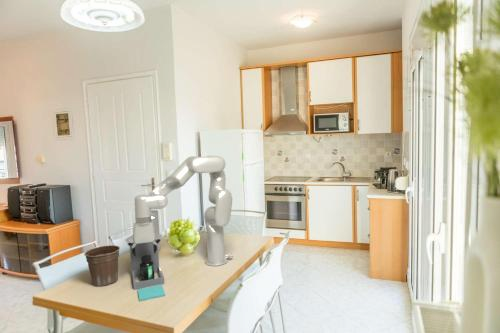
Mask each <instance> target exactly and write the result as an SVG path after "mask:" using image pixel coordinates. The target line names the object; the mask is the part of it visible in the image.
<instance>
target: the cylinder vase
mask: <svg viewBox="0 0 500 333" xmlns="http://www.w3.org/2000/svg"><path fill="white" fill-rule="evenodd" d="M151 216H152V217H154V219H153V220H152V221H153V225H154V232H155V233H157V234H160V224H159V223H160V221H159V220H160V219H159V210H158V209H151ZM158 238H159V237H157V236H155V239H158ZM160 250H161V241H160V242H159V243H158V252H159V251H160Z"/></svg>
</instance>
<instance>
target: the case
mask: <svg viewBox="0 0 500 333" xmlns="http://www.w3.org/2000/svg"><path fill="white" fill-rule="evenodd" d="M156 240H157V239H155V241H156ZM131 243H132V244H133V242H131ZM153 244H154V243H153V242H149V243H141V244H136V246H135V255H136V256H134V254H132V247H130V246H129V254H130V266H131V278H132V284H133V290H138V289H143V288H148V287H153V286H158V285H164V284H165V277H164V274H163V272H162V269H161V266H160V258H159V251H158V244H157V251H156V253H154V247H153ZM144 255H151V258H152V261H153V262H154V274H156V273H158V276H159V277H157V278H155V279H151V280H145V281H141V280H140V281H136V277H137V276H138V277H140V263H141V262H142V261H141V257H142V256H144Z"/></svg>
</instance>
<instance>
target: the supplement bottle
mask: <svg viewBox="0 0 500 333" xmlns="http://www.w3.org/2000/svg"><path fill="white" fill-rule="evenodd" d="M141 261H142V262H141V263H140V275H139V277H140V281H145V280H151V279H156V278H155V276H156V275H155V274H156V273H154V262H153V261H152V258H151V255H144V256H142V257H141Z"/></svg>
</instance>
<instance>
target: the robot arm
mask: <svg viewBox="0 0 500 333" xmlns="http://www.w3.org/2000/svg"><path fill="white" fill-rule="evenodd" d="M225 168H226V161H225V159H224V158H223V157H222V156H219V155H207V156H195V155H194V156H188V157H187V158H186V159H185V160H184V161H183V162H181V164H180V165H179V166H178V167H176V169H175V170H174V171H173V172H172V173H171V174H170V175H169V176H167V177H166V178H165V179H164V180H162V181H160V183H158V184H157V185H156V186H155V187H154V188H152V190H151V192H149V194H138V195H135V197H134V216H135V220H134V221H135V222H134V223H133V227H132V235H130V236H128V237H127V238H126V239H125V242H126V244H127V245H128V246H129V248H130V247H132V254H134V256H136V255H135V246H136V244H141V243H149V242H153V243H154V244H153V247H154V253H156V251H157V244H158V243H159V242H160V243H161V240H162V238H163V235H162V234H160V233H159V234H157V233H155V232H154V225H153V221H152V220H153V219H154V217H152V216H151V210H161V209H164V208H166V206H167V205H168V198H167V196H168V195H169V194H170V193H171V192H173V191H174V190H177V189H179V188H181V187H183V186H185V185H186V184H187V182H188V181H189V180H190V179H191V178H192V177H193V176H194V175H195V174H208V175H209V177H210V178H209V179H210V180H209V182H210V183H209V190H208V201H209V202H210V203H211V204H213V205H215V206H212V205H211V206H209V207H207V208H206V210H205V211H204V214H203V218H204V224H205V231H206V250H207V258H206V259H205V261H204V264H206V265H207V266H209V267H210V266H211V267H218V266H223V265H225V264H227V263H228V258H233V257H234V254H233V253H229V252H228V253H226V252H225V240H224V239H225V238H224V236H225V235H224V233H225V232H224V227H226V226H227V225H228V224H229V222H230V219H231V214H232V208H233V207H232V206H233V194H232V193H231V191H230V190H228V189H227V188H226V173H225V171H224V169H225ZM155 236H157V237H159V238H158V239H157V240H156V241H155ZM131 240H132V241H133V242H130V241H131ZM132 243H133V244H132Z"/></svg>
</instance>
